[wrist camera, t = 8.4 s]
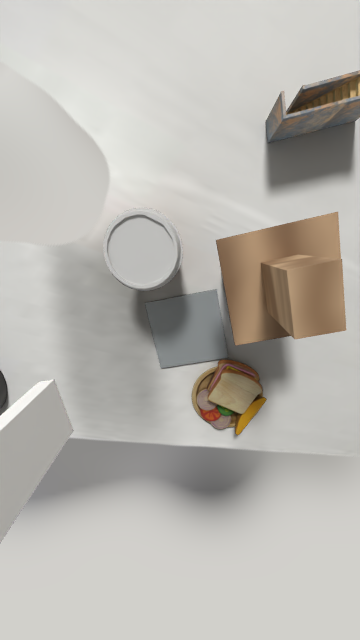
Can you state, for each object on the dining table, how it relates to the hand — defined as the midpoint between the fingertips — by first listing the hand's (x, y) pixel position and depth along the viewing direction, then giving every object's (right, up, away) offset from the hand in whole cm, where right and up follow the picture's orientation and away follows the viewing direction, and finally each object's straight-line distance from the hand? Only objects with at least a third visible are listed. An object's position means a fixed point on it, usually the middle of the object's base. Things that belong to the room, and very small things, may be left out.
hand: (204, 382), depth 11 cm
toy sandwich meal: (+7, -10, +36) cm, 38 cm away
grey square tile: (0, +1, +33) cm, 33 cm away
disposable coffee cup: (-5, +14, +30) cm, 33 cm away
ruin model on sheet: (+16, +29, +24) cm, 42 cm away
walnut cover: (+9, +6, +16) cm, 19 cm away
